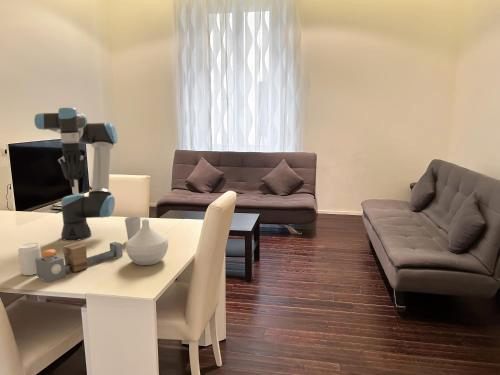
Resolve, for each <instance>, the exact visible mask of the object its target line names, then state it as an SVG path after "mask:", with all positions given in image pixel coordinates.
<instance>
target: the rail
mask: <svg viewBox="0 0 500 375" xmlns="http://www.w3.org/2000/svg"><path fill="white" fill-rule="evenodd" d="M122 245H123V244H122V243H120V242H116V241H114V242H110V243H109V250H108V251H104V252H102V253H99V254H95V255H92V256H87V264H88V267H90V266H93V265H96V264H97V265H98V264H100V263H103V262H105V261H106V262H107V261H109V260H111V259H115V258H120V257H121V258H122V257H123V246H122ZM64 267H65V275H66V274H69V273H72V272H73V271H72V265H71V264H66V265H65V264H64Z"/></svg>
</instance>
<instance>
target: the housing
mask: <svg viewBox="0 0 500 375" xmlns="http://www.w3.org/2000/svg"><path fill="white" fill-rule="evenodd" d="M35 261H36V270H37V274H36V276H37V277H39V278H41V279H43V280H42V281H44V280H45V281H44V282H46V281H47V282H46V283H48V282H49V283H51V281H52V282H55V281H58V280H60V279H63V278H66V274H65V267H64V265H65V259H64V257H61V256H59V255H57V254H56V255H54V259H53V260H50V261H47V262H46V261H45V260H44V257H42V256H41V258H37V259H35ZM39 278H38V279H39ZM41 279H40V280H41Z"/></svg>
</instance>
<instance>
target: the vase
mask: <svg viewBox="0 0 500 375" xmlns="http://www.w3.org/2000/svg"><path fill="white" fill-rule="evenodd" d="M124 246H125V252H126V254H127V256H128V258H129V259H130V260H131V261H132V262H133V263H135V264H137V265H138V266H143V265H146V266H153V265H156V264H158V263H160V262H161V261H162V260H163V259H164V258H165V256H166V255H167V252H168V249H169V240H168V239H167V237H166V236H164V235H163V234H161V233H159V232H157V231H156V230H154V229H153V228H152V227H151V226H150V220H149V219H148V218H146V219H145V218H143V219H141V227H140V230H139V231H138V232H137V233H136V234H135V235H134V236H133V237H132V238H130V239H129V240H128V239H127V241H126V243H125V245H124Z"/></svg>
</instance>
